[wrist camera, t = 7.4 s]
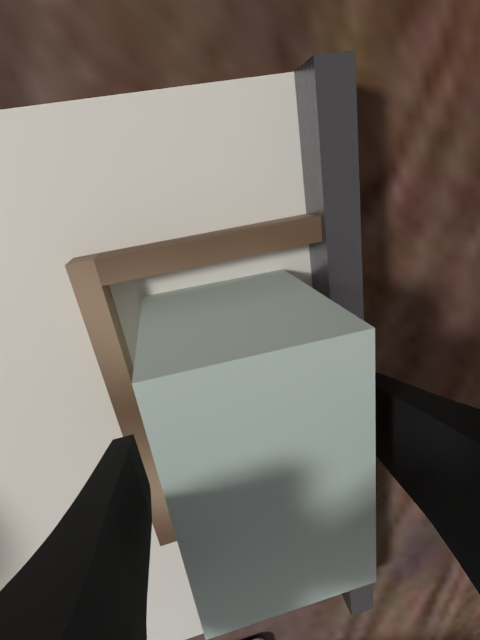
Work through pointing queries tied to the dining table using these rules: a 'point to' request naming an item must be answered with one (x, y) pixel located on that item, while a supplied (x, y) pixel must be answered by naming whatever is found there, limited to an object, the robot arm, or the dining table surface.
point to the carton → (261, 442)
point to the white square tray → (152, 268)
